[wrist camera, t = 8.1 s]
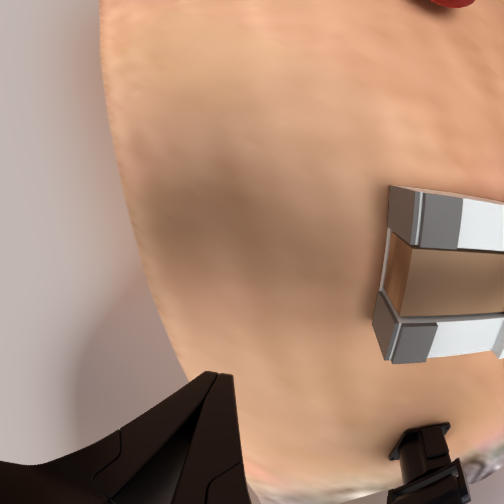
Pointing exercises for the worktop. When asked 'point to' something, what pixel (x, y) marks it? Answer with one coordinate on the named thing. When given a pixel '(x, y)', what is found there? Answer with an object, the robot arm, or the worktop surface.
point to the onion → (453, 3)
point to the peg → (443, 280)
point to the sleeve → (445, 237)
